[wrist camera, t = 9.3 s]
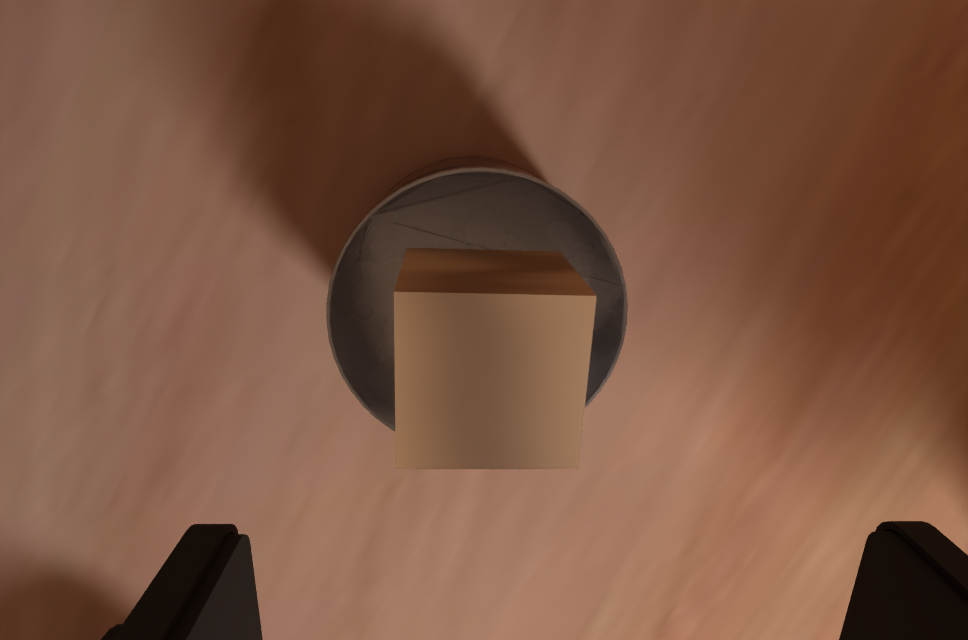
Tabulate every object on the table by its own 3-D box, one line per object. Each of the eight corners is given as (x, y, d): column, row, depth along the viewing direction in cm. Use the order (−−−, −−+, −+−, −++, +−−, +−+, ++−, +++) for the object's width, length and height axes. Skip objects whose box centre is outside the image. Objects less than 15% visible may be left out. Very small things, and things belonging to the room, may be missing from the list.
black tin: (591, 156, 25) (643, 170, 19) (574, 373, 28) (612, 451, 22) (350, 151, 24) (315, 164, 18) (361, 374, 28) (335, 454, 21)
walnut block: (560, 251, 19) (596, 296, 15) (548, 389, 21) (578, 468, 16) (406, 247, 19) (393, 291, 14) (407, 387, 21) (395, 468, 16)
